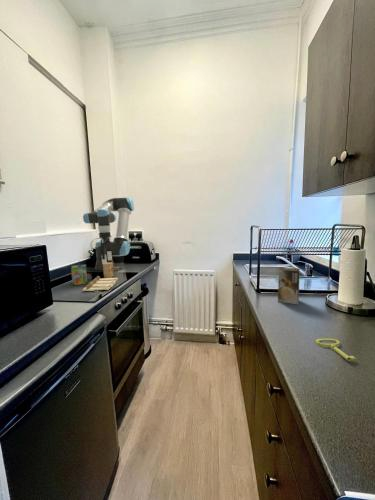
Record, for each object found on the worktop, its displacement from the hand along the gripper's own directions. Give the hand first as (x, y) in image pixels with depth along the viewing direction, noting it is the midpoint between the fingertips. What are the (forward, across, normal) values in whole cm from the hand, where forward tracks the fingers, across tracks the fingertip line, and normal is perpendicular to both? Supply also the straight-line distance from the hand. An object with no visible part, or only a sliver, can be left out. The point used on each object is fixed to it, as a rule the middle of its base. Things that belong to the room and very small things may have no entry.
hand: (107, 262), depth 159 cm
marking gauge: (+11, -1, +3) cm, 11 cm away
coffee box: (+12, +59, +101) cm, 118 cm away
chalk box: (+12, +10, -16) cm, 22 cm away
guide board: (+11, +18, +1) cm, 22 cm away
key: (+13, +98, +96) cm, 137 cm away
